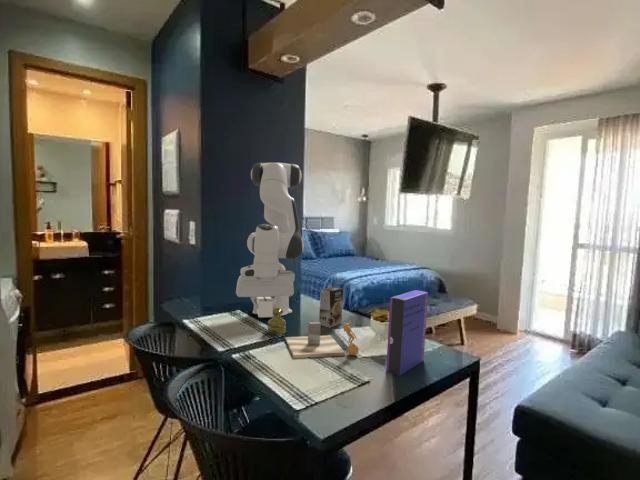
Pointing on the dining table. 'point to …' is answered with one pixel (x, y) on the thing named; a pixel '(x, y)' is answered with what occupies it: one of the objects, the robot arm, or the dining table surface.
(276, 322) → the gold vase
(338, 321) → the coffee box
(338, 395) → the dining table surface
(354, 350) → the figurine
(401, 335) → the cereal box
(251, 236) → the robot arm
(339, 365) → the dining table surface
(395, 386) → the dining table surface
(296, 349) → the block
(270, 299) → the keyed cap
